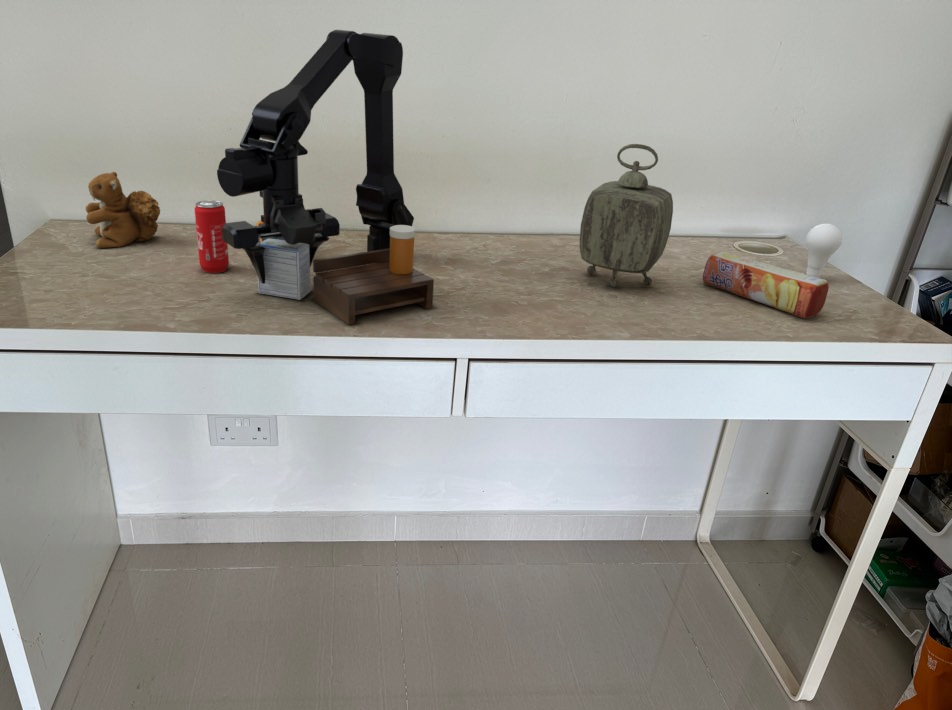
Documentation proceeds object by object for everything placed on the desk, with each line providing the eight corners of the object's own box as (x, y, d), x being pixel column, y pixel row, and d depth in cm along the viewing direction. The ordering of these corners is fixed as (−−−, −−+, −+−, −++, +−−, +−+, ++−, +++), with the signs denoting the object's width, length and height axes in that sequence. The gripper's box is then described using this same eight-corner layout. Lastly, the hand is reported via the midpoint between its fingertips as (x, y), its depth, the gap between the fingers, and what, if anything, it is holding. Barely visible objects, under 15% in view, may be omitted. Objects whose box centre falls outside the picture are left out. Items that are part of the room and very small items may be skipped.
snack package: (697, 285, 144) (705, 250, 141) (718, 279, 148) (726, 245, 145) (803, 323, 130) (815, 285, 126) (824, 315, 133) (836, 278, 130)
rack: (394, 285, 137) (395, 247, 134) (432, 307, 129) (434, 267, 125) (313, 300, 129) (312, 260, 126) (348, 324, 121) (348, 282, 117)
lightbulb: (828, 277, 152) (846, 222, 146) (829, 287, 147) (847, 230, 141) (795, 272, 154) (811, 217, 148) (794, 281, 149) (811, 225, 144)
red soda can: (222, 275, 138) (217, 208, 132) (195, 272, 139) (188, 205, 133) (233, 266, 143) (229, 201, 137) (207, 263, 143) (201, 198, 138)
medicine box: (311, 292, 132) (310, 243, 128) (300, 301, 129) (298, 250, 125) (270, 285, 134) (268, 237, 130) (257, 294, 131) (255, 244, 127)
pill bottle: (404, 265, 132) (406, 223, 128) (418, 272, 129) (420, 230, 125) (383, 268, 130) (384, 226, 126) (397, 276, 127) (398, 233, 123)
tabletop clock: (659, 285, 144) (687, 146, 131) (647, 299, 136) (677, 154, 124) (583, 270, 149) (604, 135, 137) (569, 283, 142) (590, 143, 130)
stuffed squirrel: (92, 234, 156) (82, 167, 150) (165, 232, 159) (158, 167, 153) (87, 249, 148) (75, 179, 141) (163, 246, 151) (155, 178, 145)
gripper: (245, 203, 112) (251, 304, 120) (356, 191, 122) (355, 285, 129) (217, 187, 120) (224, 282, 128) (323, 177, 130) (324, 266, 137)
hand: (283, 279), depth 130 cm, fingers closed on medicine box, 7 cm apart
